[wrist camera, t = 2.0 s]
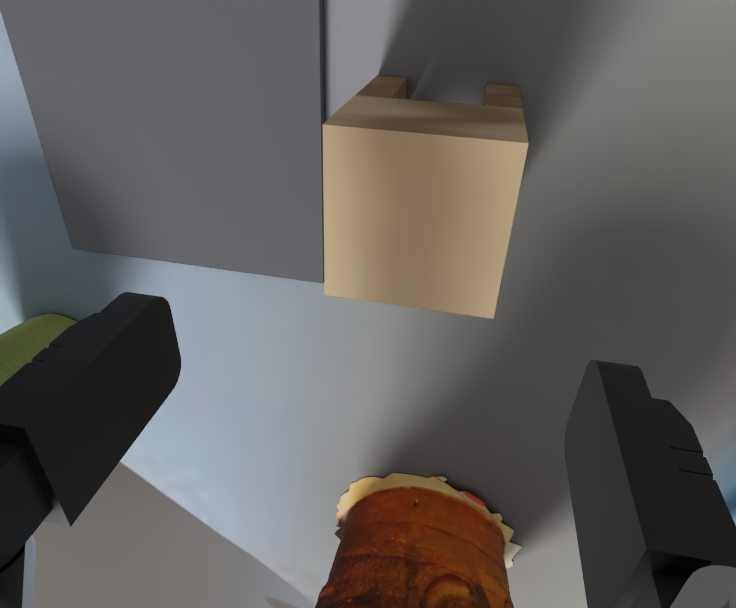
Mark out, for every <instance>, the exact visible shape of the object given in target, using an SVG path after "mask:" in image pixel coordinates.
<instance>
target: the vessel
mask: <svg viewBox="0 0 736 608" xmlns="http://www.w3.org/2000/svg"><path fill="white" fill-rule="evenodd" d="M445 480H448V479H446V478H444V477H436V476H434V477H430V478H425V477H421V476H416V475H409V474H401V473H392V474H390V475H388V476H387V477H385V478H384V479H383V478H378V477H367V478H362V479H360V480H359V481H357V482H354V483H351V485H350V488H349V491H348V492H346V493H345V494H343V495H342V496H341V498H340V502H339V503H338V504H337V508H338V510H339V511H338V513H337V516H336V517H337V518H338V520H339V522H340V524H339V525H336V526H338V527H340V528H342V529H341V530H339V531H337V532H336V533H335V535H336V536H337V537H339V538H340V540H341V542H340V544H339V547H338V549H337V552H336V556H335V559H334V562H333V565H332V568H331V571H330V574H329V578H328V582H327V583H326V585H325V586H324V587H323V588H322V590H321V592H320V594H319V597H318V602H317V604H316V606H315V608H514V606H513V603H512V600H511V597H510V591H509V585H508V578H507V571H506V569H507V568H510V567H512V566H513V562H512V558H513V557H514V555H515V554H516V553H517V552H518V551H519V550H520V549H521V548H522V547H520V546H518V545H516V544H513V543H510V542H509V541H510V539H511V538H512V536H513V533H514V530H512V529H511V528H510V527H508V526H506V525H505V524H503V523H501V521H502V520H503V518H502V516H501V515H500V513H497V514H491V513H490V512H489V511H488V510H487V508H486V506H485V504H484V502H482V501H481V500H479V499H478V498H476V497H475V496H473V495H471V494H470V493H468V492H466V491H461V492H458V491H457V490H455V489H454V488H452V487H451V486H449V485H448V484H447V483H445V482H444V481H445Z"/></svg>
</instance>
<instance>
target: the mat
mask: <svg viewBox="0 0 736 608" xmlns="http://www.w3.org/2000/svg"><path fill="white" fill-rule="evenodd" d="M0 10H1V14H2V17H3V20H4V24H5V27H6V30H7V33H8V37H9V40H10V43H11V46H12V50H13V53H14V56H15V60H16V63H17V66H18V69H19V73H20V76H21V79H22V83H23V86H24V89H25V92H26V96H27V99H28V102H29V106H30V109H31V112H32V115H33V119H34V122H35V125H36V128H37V132H38V135H39V138H40V142H41V145H42V148H43V151H44V155H45V158H46V161H47V165H48V168H49V171H50V174H51V178H52V181H53V184H54V188H55V191H56V194H57V197H58V201H59V204H60V207H61V211H62V214H63V217H64V220H65V224H66V227H67V230H68V233H69V237H70V240H71V243H72V247H73V249H80V250H87V251H94V252H102V253H109V254H116V255H123V256H130V257H137V258H145V259H152V260H159V261H166V262H173V263H181V264H188V265H195V266H202V267H209V268H216V269H224V270H231V271H238V272H245V273H252V274H259V275H267V276H274V277H281V278H288V279H295V280H302V281H310V282H317V283H324V281H325V280H324V198H323V124H324V67H323V0H0Z"/></svg>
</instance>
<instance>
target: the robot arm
mask: <svg viewBox="0 0 736 608" xmlns="http://www.w3.org/2000/svg"><path fill="white" fill-rule="evenodd" d="M180 370H181V356H180V352H179V347H178V342H177V337H176V332H175V328H174V323H173V318H172V313H171V309H170V305H169V303H168V301H167V300H166V299H165V298H163V297H158V296H151V295H144V294H137V293H130V292H125V293H122V294H120V295H119V296H118V297H117V298H116V299H114V300H113V301H112V302H111V303H110V304H109V305H108V306H107V307H105V308H104V309H103V310H102V311H101V312H100V313H95V314H93V315H91V316H89V317H87V318H85V319H83V320H81V321H79V322H77V323H75V324H73V325H71V326H69V327H68V328H67V329H66V330H65V331H63V332H62V333H61V334H60V335H59V336H58V337H56V338H55V339H54V340H53V341H52V342H51V343H49V347H48V348H44V349H43V350H41V351H40V352H39V353H38V354H37V355H36V356H34V357H33V358H32V362H31V363H28V362H27V363H26V364H25V365H24V366H23V367H22V368H20V369H19V370H18V371H17V372H16V373H15V374H14V375H12V376H11V377H10V378H9V379H8V380H7V381H5V382H4V383H3V384H2V385H1V386H0V608H34V582H35V581H34V580H35V554H36V546H35V541H34V538H33V536H32V534H33V533H34V531H35V530H36V529H37V528H38V526H39V525H40V524H41V523H42V522H43V521H46V522H50V523H56V524H60V525H64V526H69V527H71V526H72V524H73V523H74V521H75V520H76V519H77V518H78V516H79V515H80V514H81V512H82V511H83V510H84V508H85V507H86V506H87V504H88V503H89V502H90V500H91V499H92V497H93V496H94V495H95V493H96V492H97V491H98V489H99V488H100V487H101V485H102V484H103V483H104V481H105V480H106V479H107V477H108V476H109V475H110V473H111V472H112V471H113V469H114V468H115V467H116V465H117V464H118V463H119V461H120V460H121V459H122V457H123V456H124V455H125V453H126V452H127V451H128V449H129V448H130V446H131V445H132V444H133V442H134V441H135V440H136V438H137V437H138V436H139V434H140V433H141V432H142V430H143V429H144V428H145V426H146V425H147V424H148V422H149V421H150V420H151V418H152V417H153V416H154V414H155V413H156V412H157V410H158V409H159V408H160V406H161V405H162V404H163V402H164V401H165V399H166V398H167V397H168V395H169V394H170V393H171V391H172V390H173V389H174V387H175V385H176V383H177V381H178V378H179V375H180ZM565 459H566V466H567V472H568V479H569V486H570V492H571V499H572V506H573V512H574V519H575V526H576V532H577V539H578V546H579V552H580V559H581V565H582V572H583V579H584V585H585V592H586V599H587V605H588V608H736V526H735V524H734V521H733V519H732V517H731V514H730V512H729V510H728V508H727V505H726V503H725V501H724V498H723V496H722V494H721V491H720V489H719V487H718V485H717V482H716V481H715V480H713V473H712V471H711V468H710V466H709V464H708V461H707V459H706V457H703V450H702V448H701V445H700V443H699V441H698V438H697V436H696V434H695V432H694V429H693V427H692V425H691V424H690V423H689V422H688V421H687V420H686V419H685V418H684V416H683V415H682V414H681V413H680V412H679V411H678V410H677V409H676V408H675V407H674V406H673V405H672V404H671V403H670V402H669V401H667V400H660V399H654V398H652V397H651V395H650V392H649V389H648V387H647V384H646V381H645V378H644V376H643V373H642V371H641V369H640V368H639V367H638V366H632V365H625V364H618V363H611V362H604V361H597V360H591V361H590V362H589V364H588V366H587V368H586V370H585V373H584V376H583V379H582V382H581V385H580V388H579V391H578V394H577V397H576V400H575V402H574V405H573V408H572V411H571V414H570V417H569V420H568V423H567V428H566V434H565Z"/></svg>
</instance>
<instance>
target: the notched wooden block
mask: <svg viewBox="0 0 736 608" xmlns="http://www.w3.org/2000/svg"><path fill="white" fill-rule="evenodd" d="M407 80H408V77H397V76H384V75H377V76H376V77H375V78H374V79H373V80H372V81H371V82H370V83H368V84H367V85H366V86H365V87H364V88H363V89H362V90H361V91H360V92H358V93H357V94H356V95H355V96H354V97H353V98H352V99H351V100H349V101H348V102H347V103H346V104H345V105H344V106H343V107H342V108H340V109H339V110H338V111H337V112H336V113H335V114H334V115H333V116H332V117H330V118H329V119H328V120H327V121H326V122H325V123H324V124H323V198H324V280H325V295H330V296H337V297H344V298H351V299H358V300H365V301H372V302H379V303H386V304H393V305H400V306H407V307H414V308H421V309H428V310H435V311H442V312H449V313H456V314H463V315H470V316H477V317H484V318H491V319H493V318H494V313H495V308H496V303H497V299H498V294H499V289H500V284H501V279H502V274H503V269H504V264H505V259H506V254H507V249H508V244H509V239H510V234H511V229H512V224H513V219H514V214H515V209H516V204H517V199H518V194H519V189H520V184H521V179H522V174H523V169H524V165H525V160H526V155H527V150H528V145H529V142H528V136H527V130H526V124H525V119H524V113H523V107H522V101H521V96H520V90H519V86H517V85H504V84H491V83H487V87H486V94H485V100H484V106H483V105H470V104H458V103H446V102H434V101H421V100H409V99H406V94H407Z"/></svg>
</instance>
